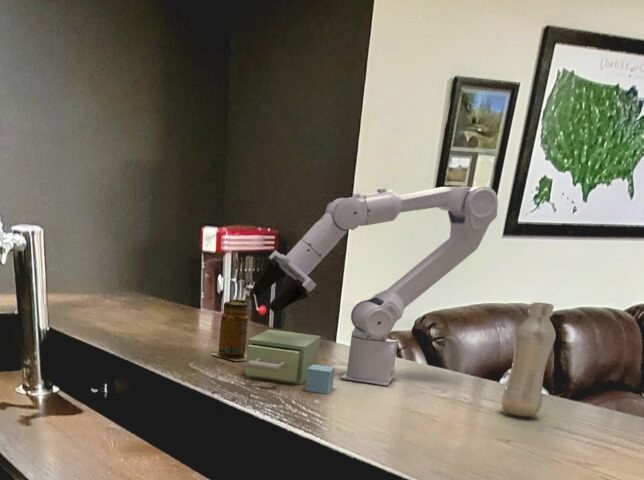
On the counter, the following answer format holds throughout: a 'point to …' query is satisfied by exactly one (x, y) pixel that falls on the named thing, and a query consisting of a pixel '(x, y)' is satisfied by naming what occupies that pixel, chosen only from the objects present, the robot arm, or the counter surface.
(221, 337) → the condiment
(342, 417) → the counter surface
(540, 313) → the plastic bottle
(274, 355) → the green drawer
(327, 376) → the light blue cube
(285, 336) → the green drawer cabinet
